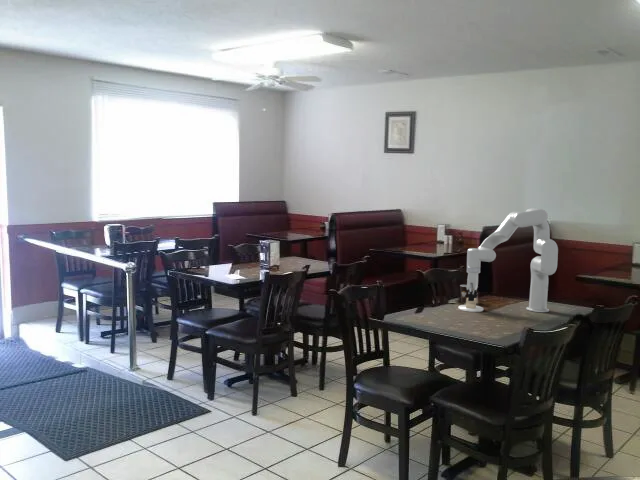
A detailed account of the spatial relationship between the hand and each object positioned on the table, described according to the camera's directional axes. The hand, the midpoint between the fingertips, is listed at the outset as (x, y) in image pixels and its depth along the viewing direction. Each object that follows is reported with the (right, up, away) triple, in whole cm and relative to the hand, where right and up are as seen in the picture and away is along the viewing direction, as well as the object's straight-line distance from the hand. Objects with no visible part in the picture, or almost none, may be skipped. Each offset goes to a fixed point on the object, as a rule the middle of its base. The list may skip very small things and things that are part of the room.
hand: (472, 299), depth 334 cm
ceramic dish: (-1, -6, 0) cm, 6 cm away
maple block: (-1, -5, 0) cm, 5 cm away
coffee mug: (+3, -4, +21) cm, 21 cm away
